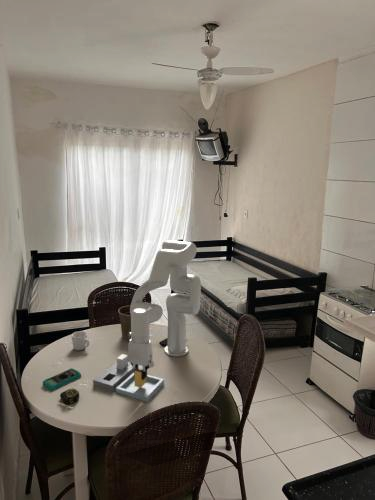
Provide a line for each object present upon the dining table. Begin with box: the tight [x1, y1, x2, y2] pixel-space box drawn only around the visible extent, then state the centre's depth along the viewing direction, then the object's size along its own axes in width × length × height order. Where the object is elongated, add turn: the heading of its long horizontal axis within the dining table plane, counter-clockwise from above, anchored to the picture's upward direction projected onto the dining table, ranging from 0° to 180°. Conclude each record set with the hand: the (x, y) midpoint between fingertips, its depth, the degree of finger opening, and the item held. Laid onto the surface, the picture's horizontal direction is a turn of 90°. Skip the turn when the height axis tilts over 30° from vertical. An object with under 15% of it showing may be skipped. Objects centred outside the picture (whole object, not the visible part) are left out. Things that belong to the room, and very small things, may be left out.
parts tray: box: [115, 373, 165, 404], centre depth 159 cm, size 15×15×2 cm
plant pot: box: [117, 304, 131, 342], centre depth 209 cm, size 16×16×16 cm
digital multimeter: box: [42, 367, 82, 392], centre depth 164 cm, size 8×15×3 cm, turn 141°
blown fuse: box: [135, 365, 146, 388], centre depth 158 cm, size 4×3×8 cm, turn 156°
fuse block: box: [92, 361, 134, 393], centre depth 166 cm, size 20×10×4 cm, turn 156°
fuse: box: [116, 353, 128, 370], centre depth 170 cm, size 4×3×8 cm, turn 156°
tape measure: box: [59, 388, 80, 407], centre depth 150 cm, size 7×7×4 cm
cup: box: [71, 330, 90, 351], centre depth 193 cm, size 11×8×8 cm
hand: (140, 376), depth 158 cm, fingers closed on blown fuse, 3 cm apart
